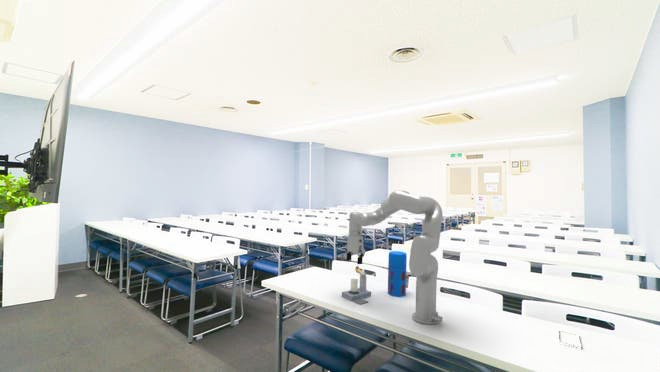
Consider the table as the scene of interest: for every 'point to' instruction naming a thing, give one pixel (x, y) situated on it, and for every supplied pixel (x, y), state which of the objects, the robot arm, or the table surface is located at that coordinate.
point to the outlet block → (361, 291)
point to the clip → (360, 271)
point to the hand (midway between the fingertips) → (354, 262)
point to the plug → (354, 286)
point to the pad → (360, 301)
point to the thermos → (397, 273)
